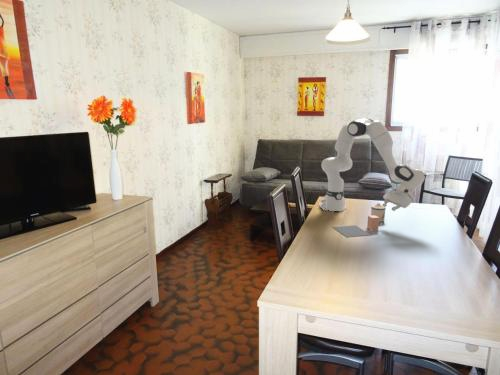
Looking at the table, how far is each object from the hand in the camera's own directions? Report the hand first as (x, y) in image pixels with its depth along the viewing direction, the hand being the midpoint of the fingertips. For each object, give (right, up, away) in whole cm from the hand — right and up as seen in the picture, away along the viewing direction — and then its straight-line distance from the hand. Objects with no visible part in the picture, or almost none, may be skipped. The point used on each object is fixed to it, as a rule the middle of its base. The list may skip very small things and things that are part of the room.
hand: (388, 208), depth 214 cm
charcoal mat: (-24, -14, -3) cm, 28 cm away
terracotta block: (-9, -13, +1) cm, 16 cm away
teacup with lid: (+1, -9, +20) cm, 22 cm away
